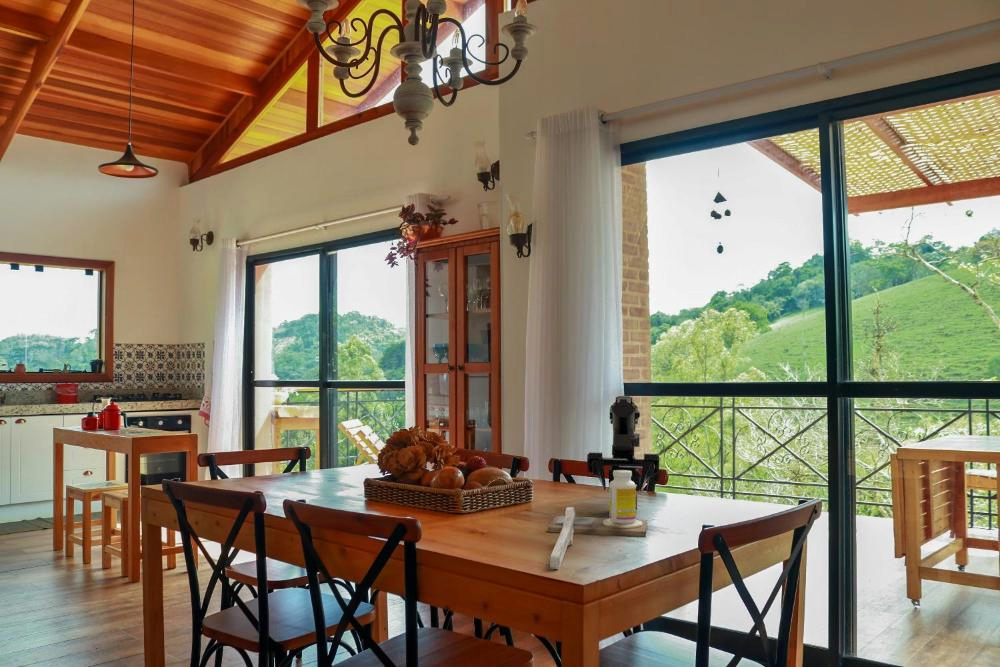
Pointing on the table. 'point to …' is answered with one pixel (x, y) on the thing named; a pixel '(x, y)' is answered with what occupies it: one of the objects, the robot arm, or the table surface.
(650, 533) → the table surface
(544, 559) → the table surface
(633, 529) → the coaster board
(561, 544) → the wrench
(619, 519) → the supplement bottle
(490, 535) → the table surface
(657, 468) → the robot arm
